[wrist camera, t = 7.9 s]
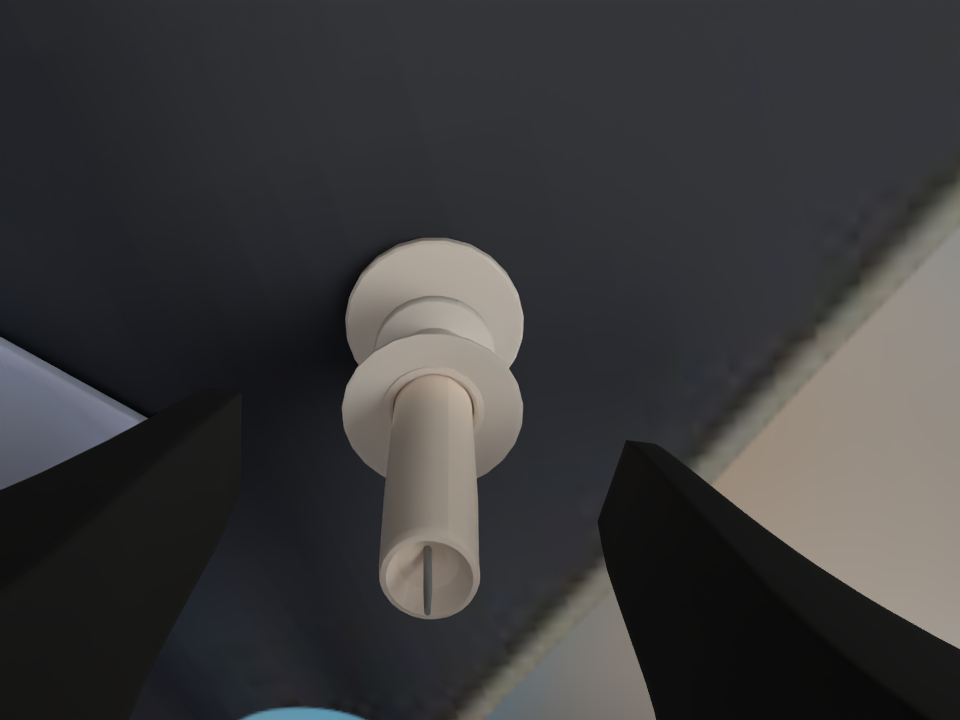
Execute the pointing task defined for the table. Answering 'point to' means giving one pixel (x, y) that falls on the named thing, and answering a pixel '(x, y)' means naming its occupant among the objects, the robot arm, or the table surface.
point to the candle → (432, 408)
